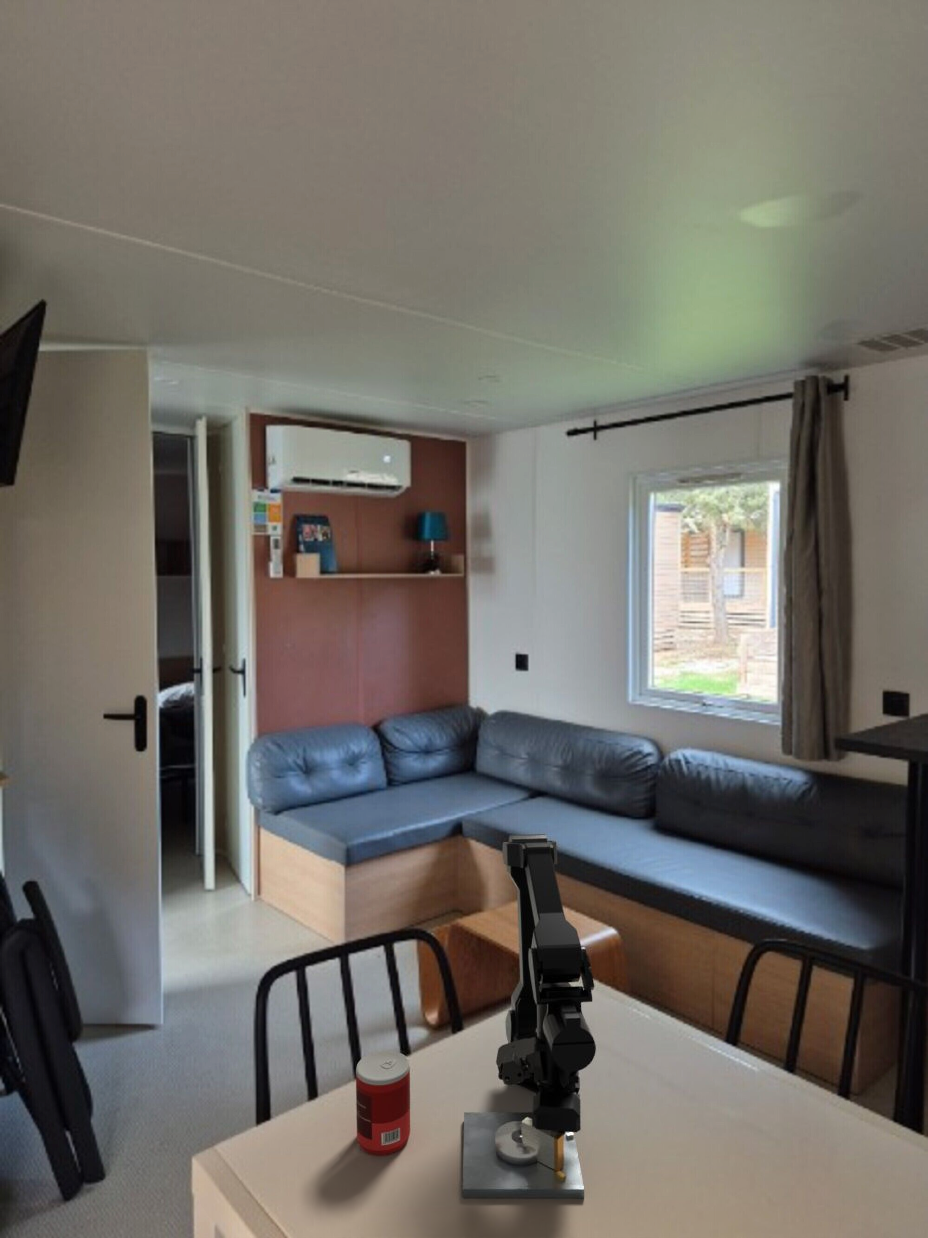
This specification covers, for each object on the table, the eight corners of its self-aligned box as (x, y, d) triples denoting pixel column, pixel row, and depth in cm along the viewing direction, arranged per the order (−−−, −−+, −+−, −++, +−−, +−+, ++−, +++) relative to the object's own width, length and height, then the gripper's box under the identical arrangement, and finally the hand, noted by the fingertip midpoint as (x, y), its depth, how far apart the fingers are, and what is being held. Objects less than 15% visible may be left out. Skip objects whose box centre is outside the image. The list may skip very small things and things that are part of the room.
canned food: (419, 1129, 122) (418, 1057, 121) (392, 1163, 115) (392, 1086, 114) (375, 1116, 125) (374, 1045, 125) (346, 1148, 118) (345, 1073, 117)
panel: (462, 1198, 108) (462, 1185, 108) (464, 1120, 124) (464, 1108, 124) (584, 1198, 108) (584, 1185, 108) (570, 1120, 124) (570, 1108, 124)
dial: (485, 1150, 115) (485, 1119, 115) (514, 1125, 121) (514, 1095, 120) (546, 1183, 109) (546, 1150, 108) (574, 1155, 114) (574, 1124, 114)
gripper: (505, 992, 124) (506, 1092, 125) (493, 1063, 106) (494, 1181, 106) (580, 996, 122) (580, 1098, 123) (580, 1070, 104) (580, 1189, 105)
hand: (558, 1138), depth 114 cm, fingers closed
